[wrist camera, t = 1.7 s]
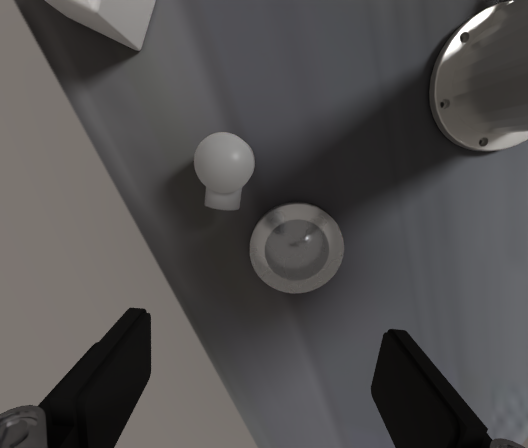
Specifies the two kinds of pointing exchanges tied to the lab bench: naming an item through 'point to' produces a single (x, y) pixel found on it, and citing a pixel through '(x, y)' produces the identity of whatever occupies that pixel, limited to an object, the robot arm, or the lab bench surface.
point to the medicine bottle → (111, 17)
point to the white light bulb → (224, 169)
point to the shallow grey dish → (296, 247)
